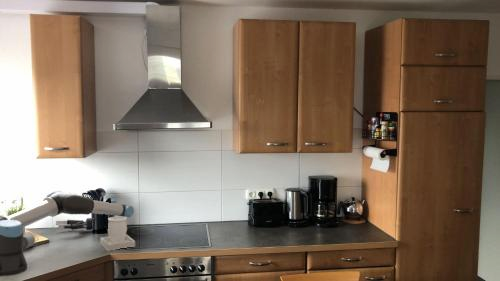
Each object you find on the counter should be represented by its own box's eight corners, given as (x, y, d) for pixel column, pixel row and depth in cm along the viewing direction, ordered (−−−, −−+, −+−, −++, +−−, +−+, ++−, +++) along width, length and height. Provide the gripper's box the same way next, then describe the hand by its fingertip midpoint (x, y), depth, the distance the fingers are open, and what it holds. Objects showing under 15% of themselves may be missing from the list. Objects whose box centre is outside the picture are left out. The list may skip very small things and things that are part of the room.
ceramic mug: (36, 246, 247) (36, 232, 246) (28, 250, 239) (28, 236, 238) (18, 245, 247) (17, 232, 247) (9, 250, 239) (9, 236, 239)
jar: (130, 242, 255) (130, 217, 254) (119, 247, 245) (119, 220, 244) (115, 240, 258) (115, 215, 258) (103, 244, 249) (103, 218, 248)
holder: (107, 251, 241) (107, 245, 240) (100, 243, 254) (100, 237, 254) (135, 247, 249) (135, 241, 249) (126, 239, 263) (126, 234, 262)
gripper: (89, 214, 291) (55, 215, 280) (96, 221, 269) (59, 222, 259) (89, 226, 291) (54, 227, 280) (96, 233, 269) (58, 235, 259)
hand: (57, 224), depth 269 cm, fingers open, 13 cm apart
